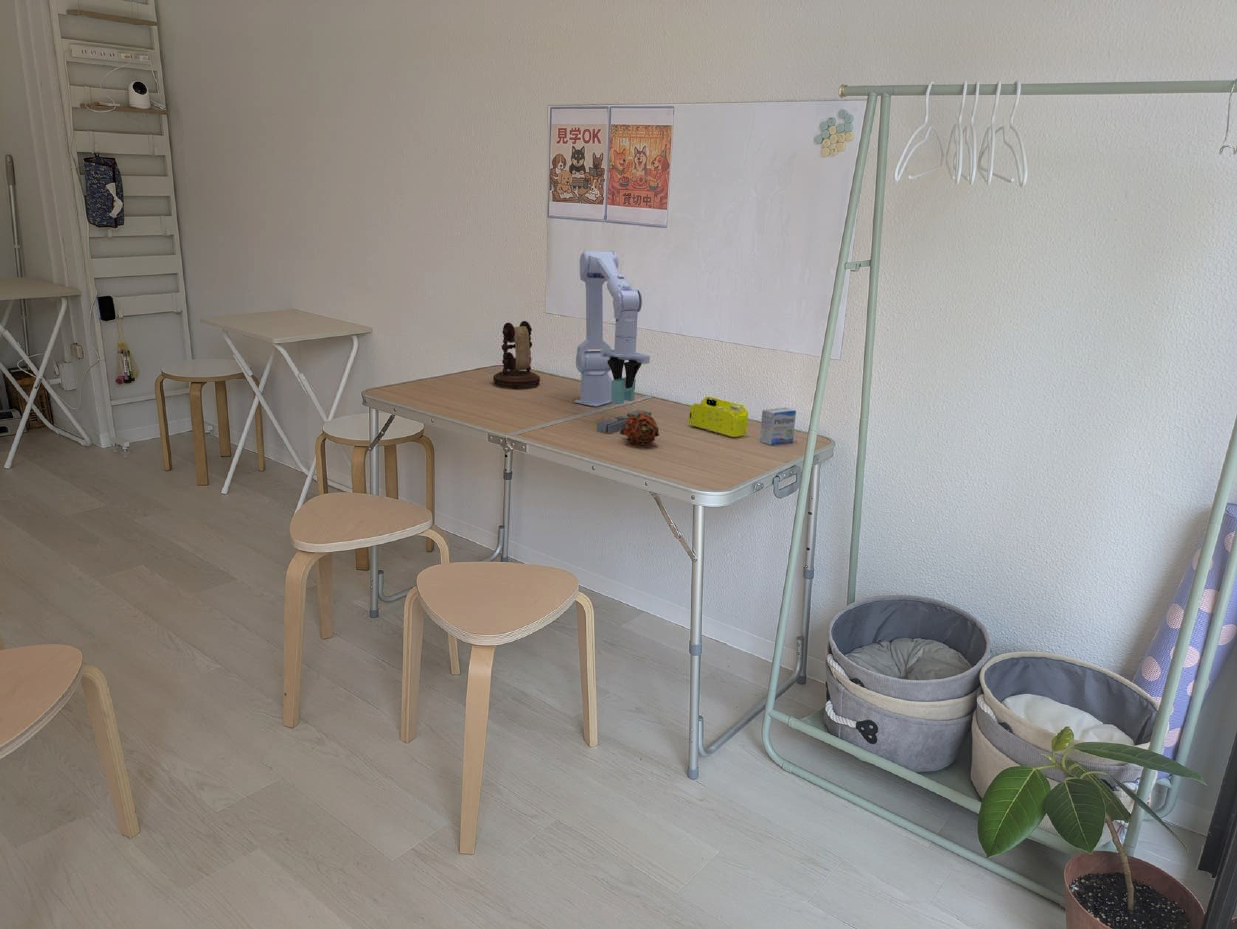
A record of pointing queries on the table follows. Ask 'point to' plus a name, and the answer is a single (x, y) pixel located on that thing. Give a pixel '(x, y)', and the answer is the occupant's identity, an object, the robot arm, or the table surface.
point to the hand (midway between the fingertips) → (623, 386)
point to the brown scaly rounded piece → (640, 429)
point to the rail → (617, 422)
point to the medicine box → (777, 426)
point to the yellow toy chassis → (719, 416)
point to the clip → (622, 391)
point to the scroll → (517, 357)
